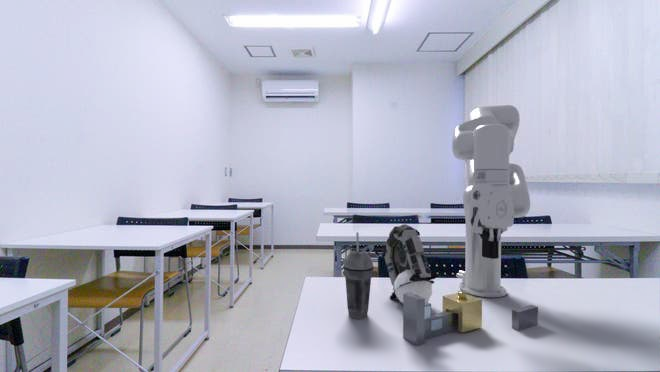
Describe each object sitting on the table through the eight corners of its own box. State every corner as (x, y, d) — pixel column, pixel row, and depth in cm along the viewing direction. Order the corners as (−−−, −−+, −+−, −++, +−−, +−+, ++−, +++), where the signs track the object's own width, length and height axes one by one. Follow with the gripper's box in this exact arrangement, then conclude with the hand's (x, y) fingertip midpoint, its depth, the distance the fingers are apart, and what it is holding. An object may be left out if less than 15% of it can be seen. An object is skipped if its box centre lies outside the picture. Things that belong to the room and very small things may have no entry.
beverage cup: (376, 311, 83) (376, 230, 83) (369, 323, 76) (370, 234, 76) (347, 308, 85) (348, 229, 85) (338, 319, 78) (339, 233, 78)
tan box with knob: (442, 322, 75) (442, 290, 75) (461, 318, 78) (461, 287, 78) (462, 332, 70) (462, 298, 70) (481, 327, 73) (482, 294, 73)
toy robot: (453, 293, 79) (424, 213, 91) (416, 297, 76) (391, 213, 88) (420, 315, 92) (398, 243, 105) (388, 319, 90) (369, 244, 102)
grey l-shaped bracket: (403, 337, 69) (403, 293, 69) (467, 320, 78) (467, 281, 78) (416, 345, 65) (416, 299, 65) (482, 327, 74) (482, 286, 74)
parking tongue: (511, 327, 74) (512, 309, 74) (531, 322, 77) (531, 304, 77) (518, 330, 73) (518, 312, 73) (537, 324, 76) (537, 306, 76)
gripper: (483, 177, 71) (482, 263, 71) (526, 179, 78) (525, 258, 78) (455, 177, 78) (454, 257, 78) (497, 179, 85) (496, 252, 85)
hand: (490, 257), depth 78 cm, fingers closed
